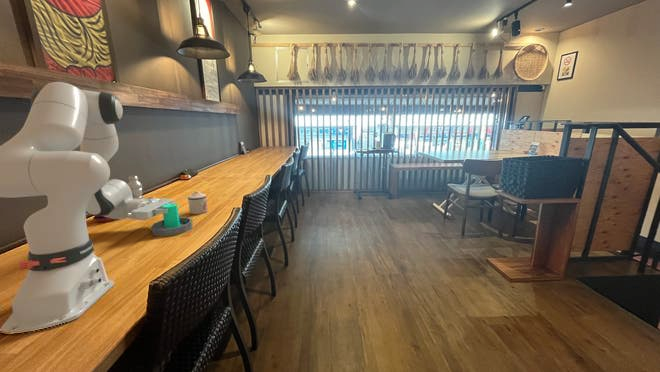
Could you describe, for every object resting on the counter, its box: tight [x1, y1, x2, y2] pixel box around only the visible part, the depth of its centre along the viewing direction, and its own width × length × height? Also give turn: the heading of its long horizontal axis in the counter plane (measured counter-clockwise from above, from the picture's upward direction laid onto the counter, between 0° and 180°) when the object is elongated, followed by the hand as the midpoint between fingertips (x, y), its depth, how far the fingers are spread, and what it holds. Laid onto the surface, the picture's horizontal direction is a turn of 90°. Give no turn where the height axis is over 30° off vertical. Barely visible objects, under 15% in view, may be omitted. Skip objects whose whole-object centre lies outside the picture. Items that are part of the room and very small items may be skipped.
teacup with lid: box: [187, 190, 208, 215], centre depth 141 cm, size 12×9×12 cm
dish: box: [150, 216, 194, 237], centre depth 117 cm, size 15×15×3 cm
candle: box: [162, 202, 180, 229], centre depth 116 cm, size 6×6×12 cm
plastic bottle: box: [127, 175, 144, 199], centre depth 137 cm, size 6×7×20 cm
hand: (172, 208), depth 115 cm, fingers closed on candle, 5 cm apart
